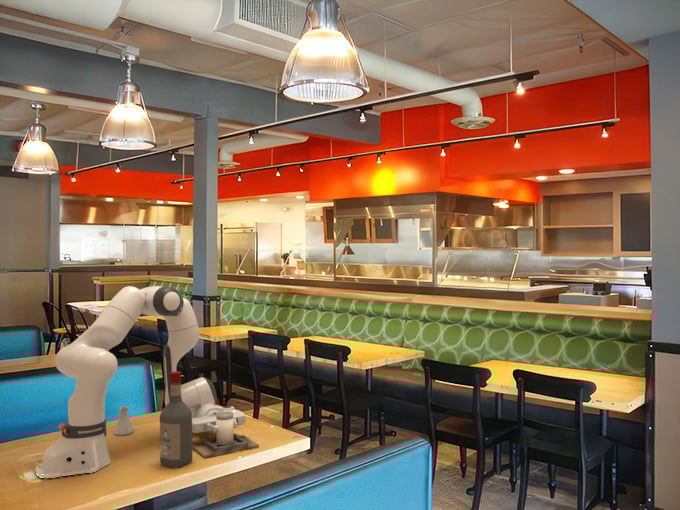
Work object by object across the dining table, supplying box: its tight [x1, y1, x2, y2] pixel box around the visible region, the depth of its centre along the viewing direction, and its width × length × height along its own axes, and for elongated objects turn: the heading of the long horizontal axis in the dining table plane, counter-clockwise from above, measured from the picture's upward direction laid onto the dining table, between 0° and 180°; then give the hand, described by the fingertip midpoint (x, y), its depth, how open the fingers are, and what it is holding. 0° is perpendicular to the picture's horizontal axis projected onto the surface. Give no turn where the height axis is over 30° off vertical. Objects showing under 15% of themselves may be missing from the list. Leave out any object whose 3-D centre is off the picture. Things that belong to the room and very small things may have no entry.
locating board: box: [192, 433, 259, 460], centre depth 214 cm, size 20×13×2 cm, turn 123°
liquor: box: [159, 370, 193, 469], centre depth 199 cm, size 9×9×30 cm
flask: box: [113, 406, 135, 437], centre depth 231 cm, size 7×7×10 cm
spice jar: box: [215, 412, 235, 445], centre depth 213 cm, size 6×6×10 cm
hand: (225, 427), depth 213 cm, fingers closed on spice jar, 6 cm apart
